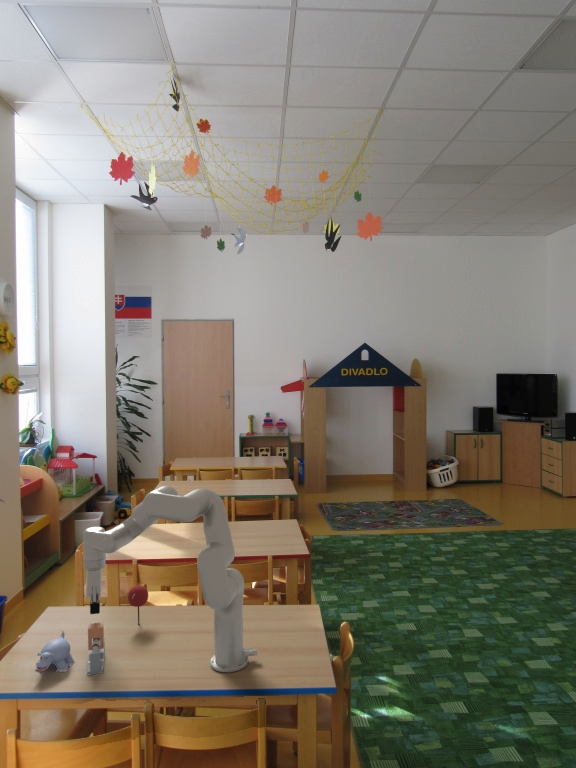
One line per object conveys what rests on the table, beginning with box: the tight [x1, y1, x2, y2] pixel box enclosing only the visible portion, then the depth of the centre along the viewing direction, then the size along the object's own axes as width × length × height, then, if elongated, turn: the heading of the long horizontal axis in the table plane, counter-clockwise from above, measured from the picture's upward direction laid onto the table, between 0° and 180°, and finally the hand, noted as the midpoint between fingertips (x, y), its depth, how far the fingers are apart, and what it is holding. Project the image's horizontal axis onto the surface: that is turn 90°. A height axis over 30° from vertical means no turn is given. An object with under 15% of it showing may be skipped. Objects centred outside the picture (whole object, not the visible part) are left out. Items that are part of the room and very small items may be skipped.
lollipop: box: [127, 585, 149, 625], centre depth 227 cm, size 8×8×15 cm
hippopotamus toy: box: [35, 630, 75, 673], centre depth 196 cm, size 11×15×10 cm
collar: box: [87, 621, 105, 652], centre depth 204 cm, size 5×4×8 cm
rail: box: [86, 638, 105, 676], centre depth 203 cm, size 5×23×7 cm, turn 16°
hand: (95, 612), depth 210 cm, fingers closed
